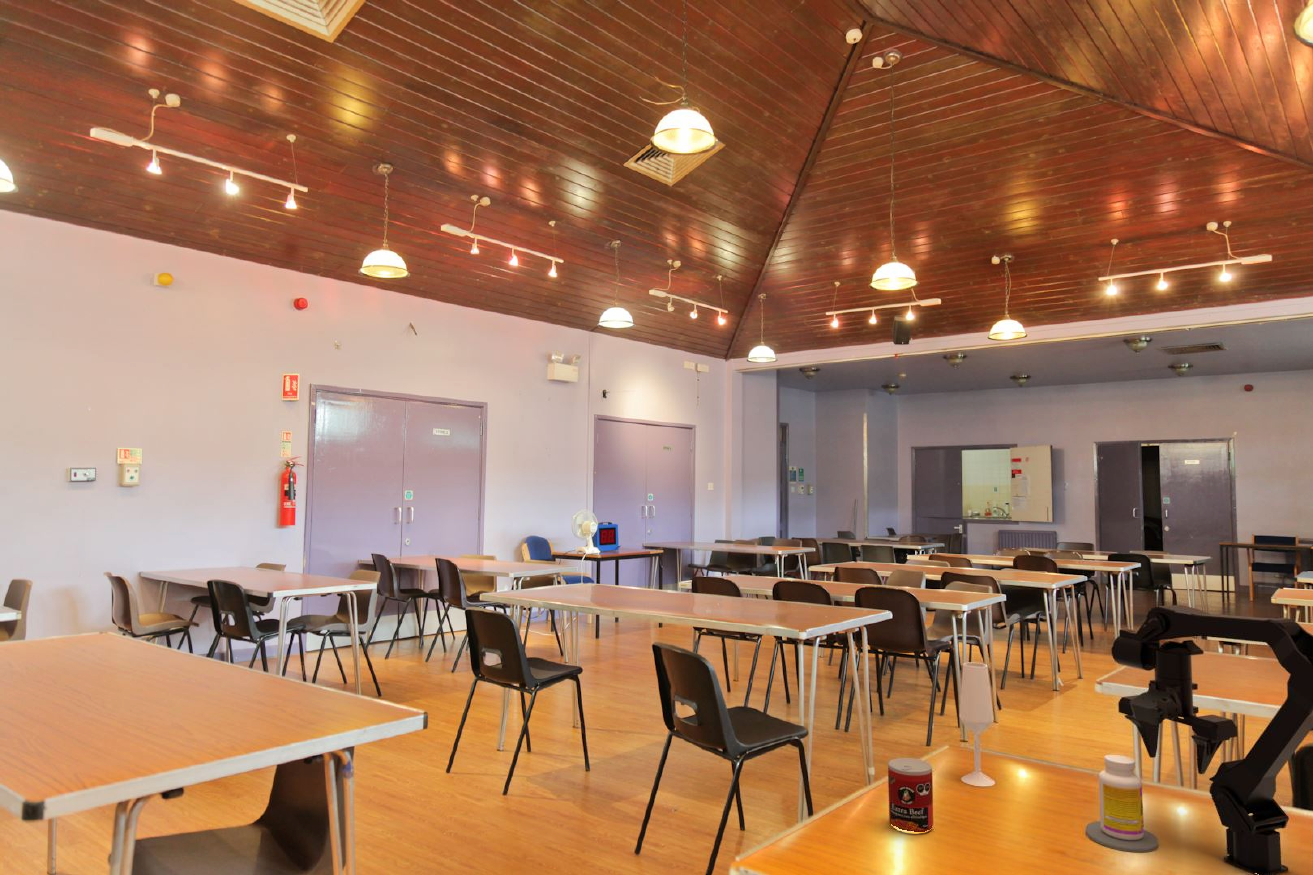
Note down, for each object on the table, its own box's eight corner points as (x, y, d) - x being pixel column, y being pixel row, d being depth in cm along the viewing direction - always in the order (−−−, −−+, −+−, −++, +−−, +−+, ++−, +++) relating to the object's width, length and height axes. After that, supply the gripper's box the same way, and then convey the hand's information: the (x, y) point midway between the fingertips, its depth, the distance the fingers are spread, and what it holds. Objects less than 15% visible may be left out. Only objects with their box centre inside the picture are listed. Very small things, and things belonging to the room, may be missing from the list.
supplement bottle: (1150, 843, 140) (1147, 766, 141) (1107, 839, 141) (1105, 763, 142) (1135, 827, 146) (1133, 753, 147) (1095, 824, 148) (1093, 751, 149)
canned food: (884, 830, 147) (883, 767, 148) (894, 814, 154) (893, 754, 155) (929, 838, 144) (927, 774, 144) (936, 822, 151) (935, 761, 152)
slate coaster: (1173, 846, 141) (1172, 841, 141) (1126, 856, 137) (1126, 851, 137) (1116, 821, 151) (1116, 817, 151) (1071, 830, 147) (1071, 826, 147)
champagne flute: (971, 772, 177) (968, 659, 178) (1001, 781, 172) (998, 665, 173) (954, 779, 173) (952, 664, 174) (984, 788, 167) (981, 669, 169)
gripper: (1095, 668, 153) (1097, 754, 152) (1191, 692, 135) (1195, 789, 135) (1138, 664, 157) (1141, 747, 156) (1237, 686, 139) (1241, 780, 138)
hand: (1176, 765), depth 146 cm, fingers open, 9 cm apart
